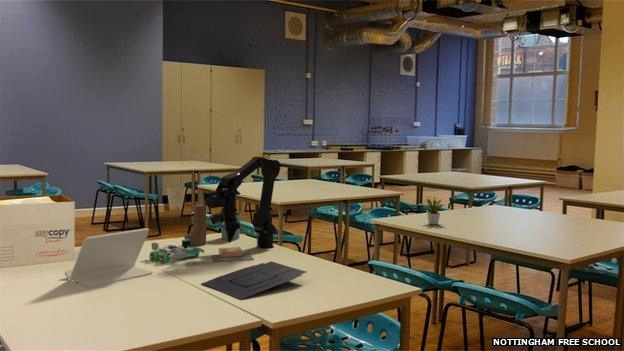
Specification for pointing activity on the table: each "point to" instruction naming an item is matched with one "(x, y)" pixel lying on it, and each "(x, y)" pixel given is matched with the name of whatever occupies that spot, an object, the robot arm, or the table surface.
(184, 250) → the robot kit
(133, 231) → the tablet stand
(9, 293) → the table surface
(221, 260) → the mat
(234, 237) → the drinking glass
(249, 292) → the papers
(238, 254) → the tile
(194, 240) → the wooden block
